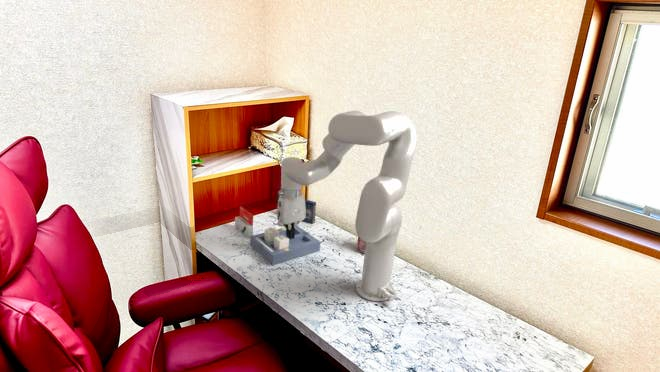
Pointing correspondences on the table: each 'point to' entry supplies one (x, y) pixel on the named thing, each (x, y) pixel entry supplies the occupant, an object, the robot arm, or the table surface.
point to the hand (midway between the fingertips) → (290, 237)
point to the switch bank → (297, 247)
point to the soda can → (361, 245)
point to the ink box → (244, 223)
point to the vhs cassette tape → (307, 210)
